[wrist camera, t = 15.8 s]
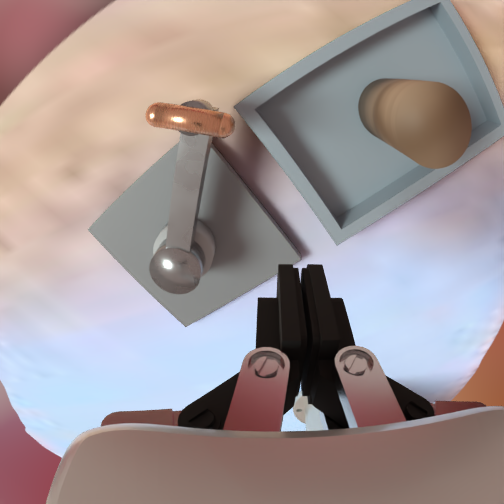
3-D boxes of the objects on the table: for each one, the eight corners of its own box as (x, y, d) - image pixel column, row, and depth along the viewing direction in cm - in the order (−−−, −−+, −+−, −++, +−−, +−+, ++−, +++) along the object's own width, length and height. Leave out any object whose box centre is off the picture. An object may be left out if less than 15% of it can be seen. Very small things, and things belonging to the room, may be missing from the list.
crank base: (300, 253, 29) (303, 272, 26) (187, 320, 33) (181, 340, 31) (198, 126, 23) (189, 132, 21) (92, 225, 28) (77, 239, 25)
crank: (207, 284, 27) (196, 325, 22) (150, 271, 26) (130, 309, 22) (244, 105, 19) (237, 111, 15) (171, 92, 19) (144, 96, 15)
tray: (492, 123, 21) (511, 130, 18) (330, 229, 27) (336, 245, 25) (424, -6, 16) (441, -13, 14) (237, 104, 22) (233, 106, 20)
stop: (427, 119, 21) (483, 141, 14) (381, 152, 23) (423, 185, 16) (394, 67, 19) (445, 66, 12) (345, 100, 21) (379, 110, 14)
